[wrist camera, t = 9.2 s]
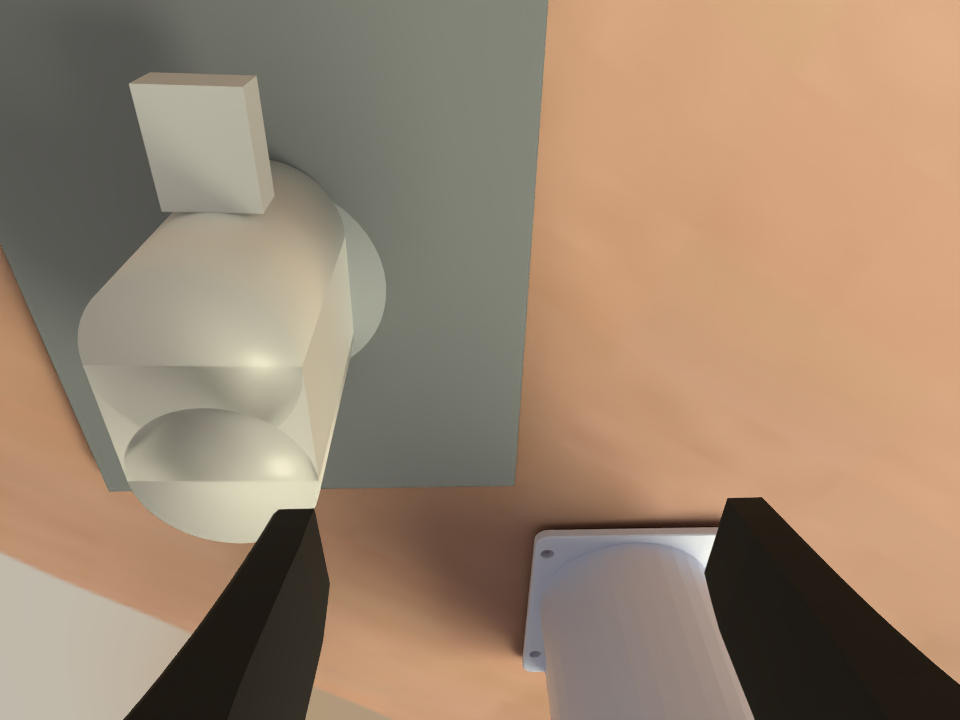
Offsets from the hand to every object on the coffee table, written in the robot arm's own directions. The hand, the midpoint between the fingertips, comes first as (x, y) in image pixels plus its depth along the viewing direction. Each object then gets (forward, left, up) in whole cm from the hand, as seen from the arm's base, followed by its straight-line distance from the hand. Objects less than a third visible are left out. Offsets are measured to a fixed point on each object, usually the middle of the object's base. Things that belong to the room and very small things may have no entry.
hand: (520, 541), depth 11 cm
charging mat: (+1, +6, -9) cm, 11 cm away
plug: (+2, +6, -8) cm, 11 cm away
